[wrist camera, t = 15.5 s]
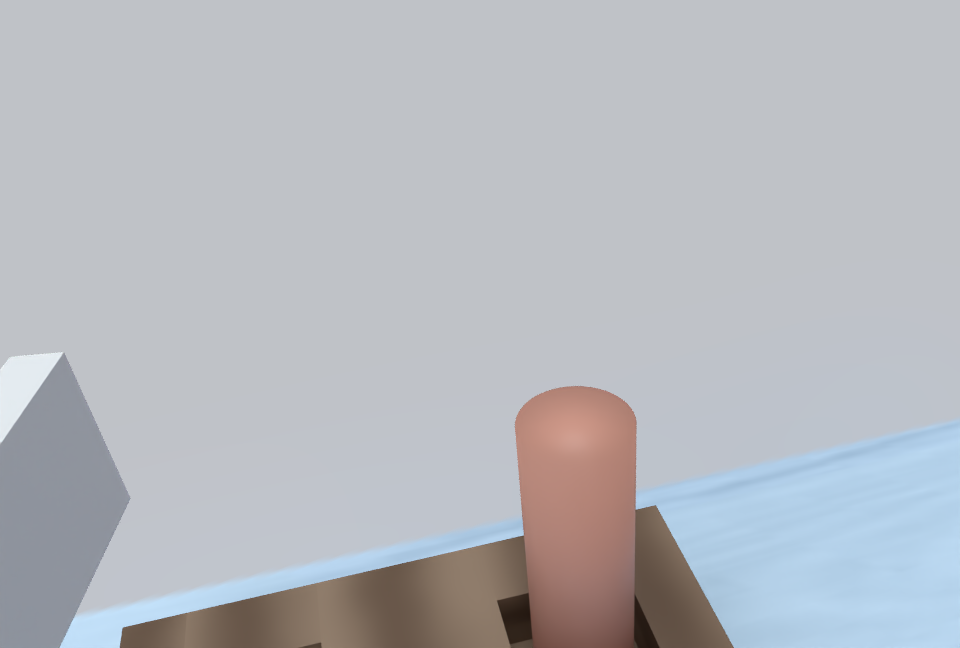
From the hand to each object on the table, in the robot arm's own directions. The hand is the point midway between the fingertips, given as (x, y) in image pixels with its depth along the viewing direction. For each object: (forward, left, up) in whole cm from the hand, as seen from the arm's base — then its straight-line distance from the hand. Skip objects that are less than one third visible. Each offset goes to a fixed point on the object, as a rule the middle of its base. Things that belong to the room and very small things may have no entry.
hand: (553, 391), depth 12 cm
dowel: (+4, -13, -26) cm, 29 cm away
